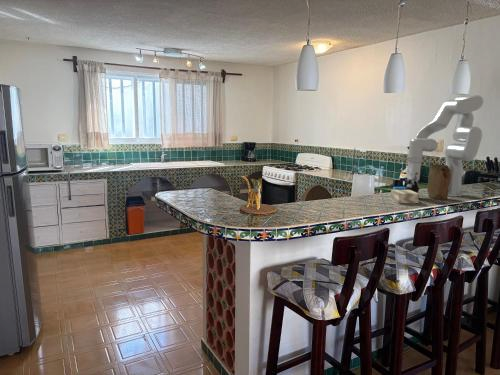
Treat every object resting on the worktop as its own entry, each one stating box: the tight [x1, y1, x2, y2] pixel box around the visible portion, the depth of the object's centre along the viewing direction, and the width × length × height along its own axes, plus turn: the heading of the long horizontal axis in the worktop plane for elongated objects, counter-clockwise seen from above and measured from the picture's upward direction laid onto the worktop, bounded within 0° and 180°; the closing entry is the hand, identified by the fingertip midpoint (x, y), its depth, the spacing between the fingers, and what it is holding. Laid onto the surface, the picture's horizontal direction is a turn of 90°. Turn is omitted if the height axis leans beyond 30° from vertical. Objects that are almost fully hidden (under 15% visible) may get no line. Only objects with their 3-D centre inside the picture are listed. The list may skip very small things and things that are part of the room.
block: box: [427, 164, 451, 201], centre depth 214 cm, size 11×8×20 cm
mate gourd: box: [405, 174, 420, 193], centre depth 216 cm, size 8×8×15 cm
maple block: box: [389, 189, 420, 204], centre depth 206 cm, size 11×11×6 cm
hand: (411, 189), depth 217 cm, fingers closed on mate gourd, 7 cm apart
